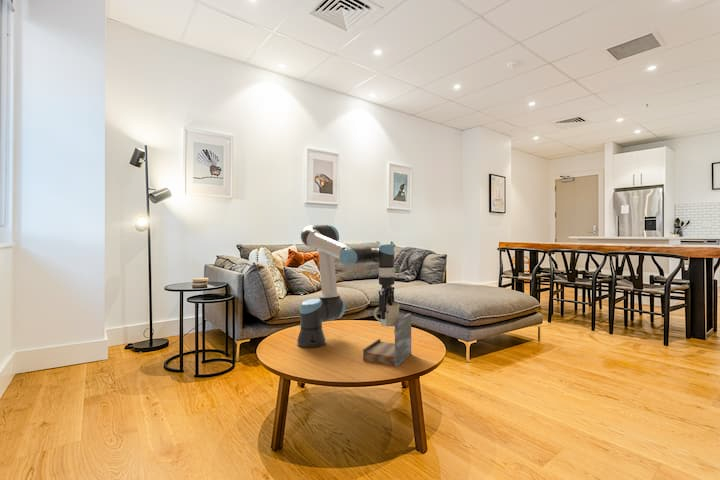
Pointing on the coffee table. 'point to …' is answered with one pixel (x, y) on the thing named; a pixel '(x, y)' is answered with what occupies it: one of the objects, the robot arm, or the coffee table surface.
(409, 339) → the cleat board
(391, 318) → the mug
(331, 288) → the robot arm
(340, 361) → the coffee table surface
